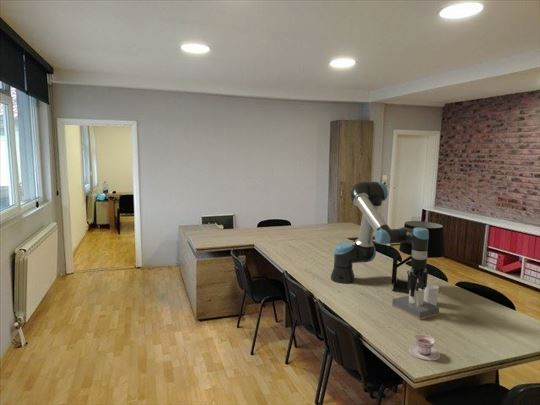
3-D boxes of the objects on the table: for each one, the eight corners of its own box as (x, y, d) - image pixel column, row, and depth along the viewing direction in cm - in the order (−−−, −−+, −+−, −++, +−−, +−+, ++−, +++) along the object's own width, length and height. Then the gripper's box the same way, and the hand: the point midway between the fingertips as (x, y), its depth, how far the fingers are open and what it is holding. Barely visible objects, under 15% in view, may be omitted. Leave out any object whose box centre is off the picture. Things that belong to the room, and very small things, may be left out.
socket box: (392, 306, 199) (392, 298, 198) (410, 301, 205) (411, 294, 204) (419, 319, 183) (420, 312, 182) (438, 314, 189) (439, 307, 189)
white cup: (424, 299, 209) (426, 282, 208) (439, 303, 204) (441, 285, 203) (420, 303, 203) (421, 286, 201) (435, 307, 198) (436, 289, 197)
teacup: (407, 343, 160) (408, 330, 159) (437, 348, 157) (438, 334, 156) (409, 358, 148) (411, 343, 148) (442, 363, 145) (443, 348, 144)
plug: (408, 307, 195) (410, 283, 193) (413, 305, 197) (415, 282, 195) (417, 311, 190) (419, 287, 188) (422, 310, 192) (424, 286, 190)
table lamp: (395, 278, 243) (399, 218, 237) (442, 286, 230) (447, 223, 225) (389, 291, 220) (393, 225, 214) (441, 300, 208) (447, 230, 202)
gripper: (413, 261, 183) (409, 307, 186) (436, 257, 191) (433, 301, 194) (401, 258, 189) (398, 301, 192) (424, 254, 197) (421, 296, 200)
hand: (416, 301), depth 193 cm, fingers closed on plug, 4 cm apart
